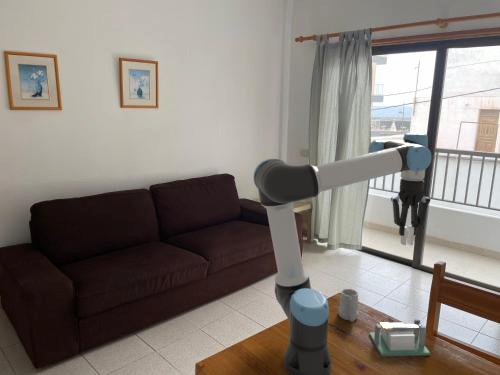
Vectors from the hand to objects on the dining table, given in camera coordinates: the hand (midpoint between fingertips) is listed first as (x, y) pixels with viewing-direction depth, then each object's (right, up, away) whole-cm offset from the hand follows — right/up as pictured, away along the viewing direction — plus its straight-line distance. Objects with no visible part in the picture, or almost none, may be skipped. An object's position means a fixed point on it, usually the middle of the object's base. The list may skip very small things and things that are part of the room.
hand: (406, 243), depth 136 cm
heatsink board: (-5, -34, -4) cm, 35 cm away
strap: (-4, -28, -5) cm, 29 cm away
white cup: (-17, -31, +12) cm, 37 cm away
